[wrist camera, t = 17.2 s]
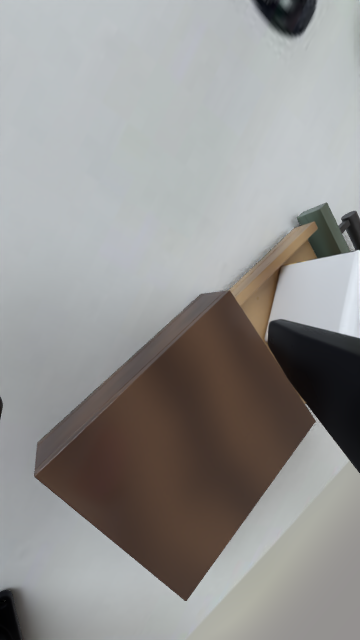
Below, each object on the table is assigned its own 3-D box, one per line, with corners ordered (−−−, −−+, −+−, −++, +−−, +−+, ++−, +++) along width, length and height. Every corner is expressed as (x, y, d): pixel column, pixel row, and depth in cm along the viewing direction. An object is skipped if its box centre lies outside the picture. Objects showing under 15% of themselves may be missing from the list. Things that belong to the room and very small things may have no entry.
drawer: (325, 190, 28) (350, 179, 26) (372, 290, 32) (398, 288, 30) (197, 309, 22) (215, 309, 20) (274, 415, 26) (296, 425, 24)
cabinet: (201, 293, 23) (230, 289, 20) (279, 406, 28) (316, 421, 24) (36, 442, 18) (33, 476, 15) (163, 553, 22) (186, 602, 19)
